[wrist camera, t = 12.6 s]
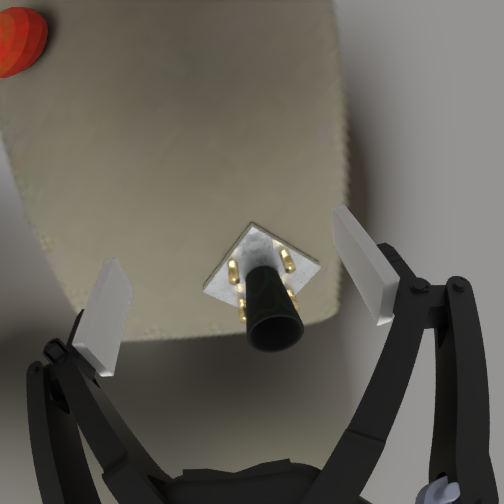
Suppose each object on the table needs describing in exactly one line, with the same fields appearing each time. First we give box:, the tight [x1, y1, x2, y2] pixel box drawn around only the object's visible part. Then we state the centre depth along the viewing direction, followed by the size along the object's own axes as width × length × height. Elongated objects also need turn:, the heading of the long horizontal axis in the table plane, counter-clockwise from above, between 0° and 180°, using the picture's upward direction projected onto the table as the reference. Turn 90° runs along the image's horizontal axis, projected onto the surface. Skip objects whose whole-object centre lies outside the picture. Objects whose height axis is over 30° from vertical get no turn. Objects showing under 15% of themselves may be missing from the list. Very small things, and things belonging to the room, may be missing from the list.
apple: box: [0, 7, 48, 78], centre depth 18 cm, size 10×10×12 cm
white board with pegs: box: [203, 222, 321, 323], centre depth 47 cm, size 14×14×6 cm
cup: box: [245, 266, 304, 353], centre depth 43 cm, size 8×8×12 cm
